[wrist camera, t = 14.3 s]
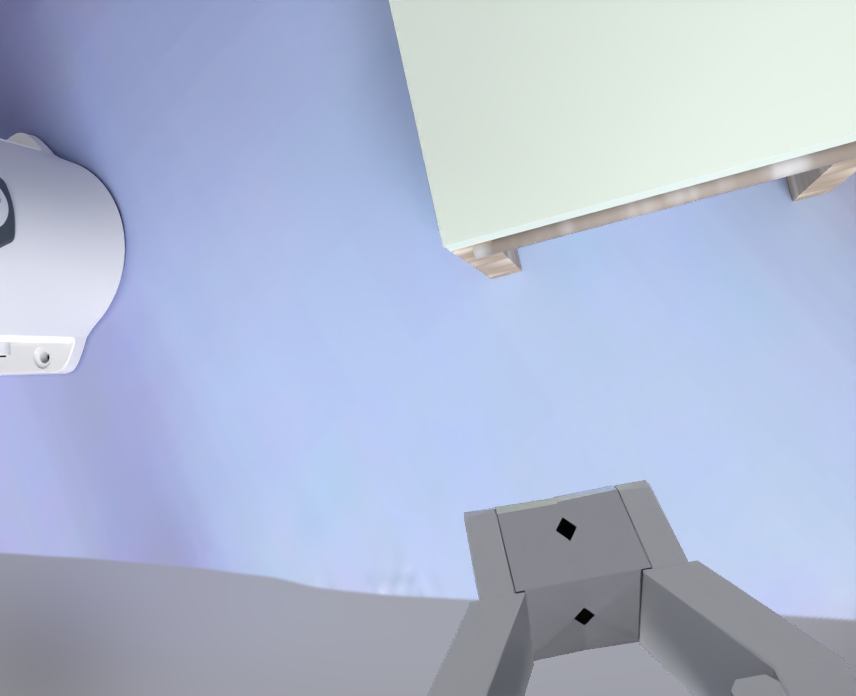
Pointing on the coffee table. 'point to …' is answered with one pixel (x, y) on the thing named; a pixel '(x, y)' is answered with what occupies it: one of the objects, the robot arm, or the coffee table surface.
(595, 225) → the stand
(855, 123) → the lid
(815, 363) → the coffee table surface
